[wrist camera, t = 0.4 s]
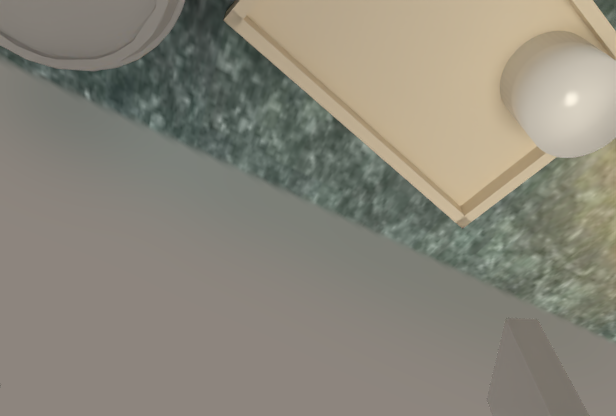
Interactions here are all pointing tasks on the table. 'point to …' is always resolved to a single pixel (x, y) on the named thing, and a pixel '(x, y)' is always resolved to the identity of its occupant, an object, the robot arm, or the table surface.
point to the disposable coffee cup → (85, 30)
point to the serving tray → (421, 81)
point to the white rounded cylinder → (562, 93)
